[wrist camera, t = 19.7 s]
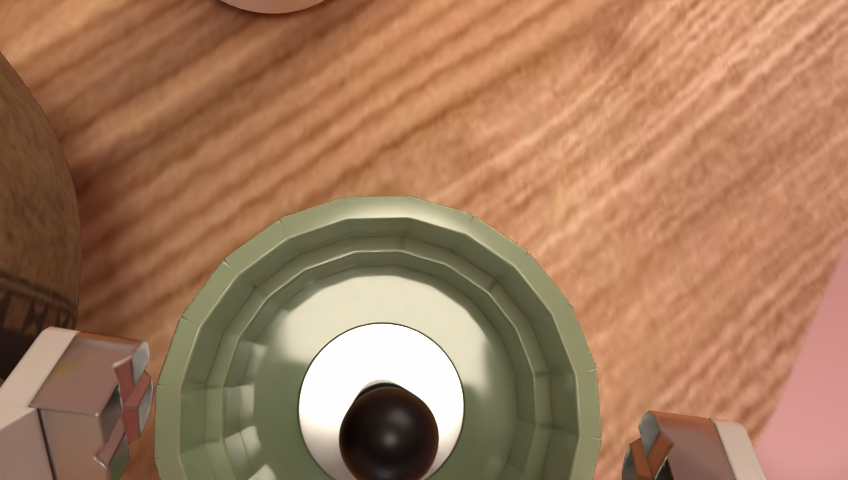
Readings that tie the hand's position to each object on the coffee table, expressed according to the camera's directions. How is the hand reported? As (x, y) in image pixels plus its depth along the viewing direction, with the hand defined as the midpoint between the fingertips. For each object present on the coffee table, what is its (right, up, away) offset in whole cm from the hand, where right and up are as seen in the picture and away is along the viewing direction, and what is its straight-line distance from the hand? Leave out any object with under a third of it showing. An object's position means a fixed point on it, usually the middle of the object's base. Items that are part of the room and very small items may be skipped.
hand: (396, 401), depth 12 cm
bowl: (-1, -3, +15) cm, 15 cm away
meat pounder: (-1, -3, +14) cm, 14 cm away
